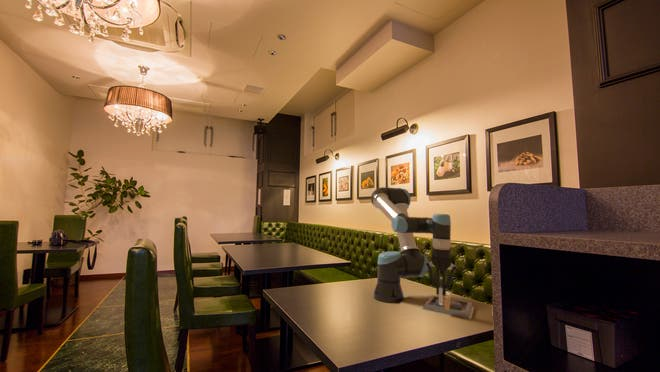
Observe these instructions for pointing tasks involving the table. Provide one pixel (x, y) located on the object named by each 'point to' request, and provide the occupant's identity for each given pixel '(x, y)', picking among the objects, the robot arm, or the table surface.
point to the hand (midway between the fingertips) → (441, 302)
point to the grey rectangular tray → (466, 309)
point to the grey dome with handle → (449, 303)
